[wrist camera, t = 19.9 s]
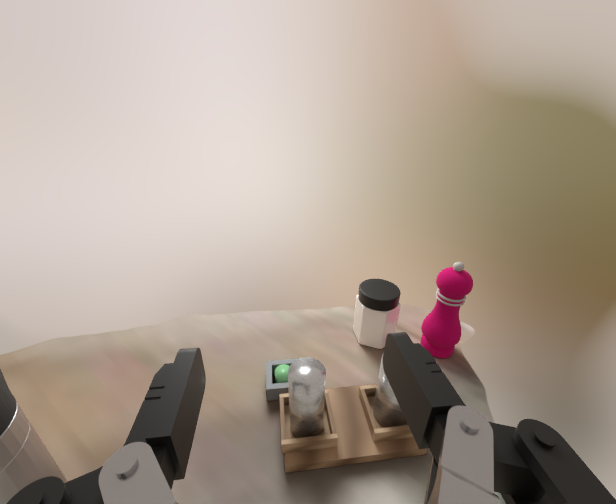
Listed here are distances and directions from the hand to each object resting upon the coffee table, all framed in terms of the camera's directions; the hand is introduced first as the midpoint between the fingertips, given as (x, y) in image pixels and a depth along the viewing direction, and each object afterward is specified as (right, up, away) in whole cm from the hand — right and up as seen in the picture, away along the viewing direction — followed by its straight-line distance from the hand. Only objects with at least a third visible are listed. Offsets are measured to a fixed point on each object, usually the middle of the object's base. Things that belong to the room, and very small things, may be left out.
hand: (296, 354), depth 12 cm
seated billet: (+13, -21, +32) cm, 40 cm away
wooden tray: (+7, -22, +32) cm, 40 cm away
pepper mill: (+27, -16, +47) cm, 57 cm away
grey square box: (-4, -19, +39) cm, 43 cm away
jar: (+15, -14, +50) cm, 54 cm away
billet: (0, -21, +31) cm, 37 cm away
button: (-4, -19, +38) cm, 43 cm away
